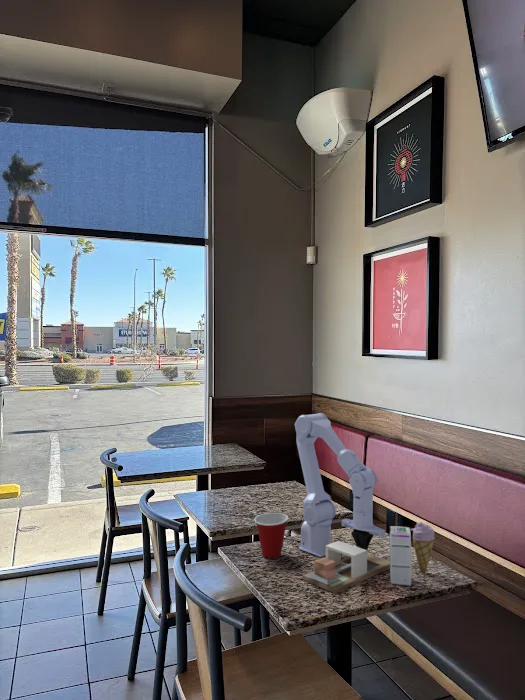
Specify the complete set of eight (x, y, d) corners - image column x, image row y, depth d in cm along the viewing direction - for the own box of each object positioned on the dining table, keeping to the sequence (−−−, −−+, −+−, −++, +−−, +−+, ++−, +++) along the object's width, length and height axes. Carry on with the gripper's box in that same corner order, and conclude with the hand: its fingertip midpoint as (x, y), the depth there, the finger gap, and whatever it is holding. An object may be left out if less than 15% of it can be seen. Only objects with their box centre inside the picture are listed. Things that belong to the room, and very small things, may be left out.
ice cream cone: (406, 571, 157) (406, 520, 157) (416, 565, 162) (416, 516, 162) (427, 578, 153) (428, 525, 153) (437, 572, 157) (437, 520, 157)
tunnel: (325, 567, 157) (325, 545, 157) (338, 562, 161) (338, 540, 161) (354, 578, 149) (354, 555, 149) (366, 572, 154) (367, 550, 154)
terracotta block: (314, 575, 149) (314, 561, 149) (323, 571, 152) (323, 557, 152) (325, 580, 146) (325, 565, 146) (334, 575, 149) (335, 561, 149)
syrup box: (411, 585, 148) (412, 533, 148) (389, 583, 149) (390, 531, 149) (410, 577, 154) (410, 526, 154) (389, 575, 155) (389, 525, 155)
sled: (308, 576, 149) (308, 557, 149) (349, 559, 162) (349, 541, 162) (327, 584, 144) (327, 564, 144) (367, 566, 157) (368, 548, 157)
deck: (302, 579, 151) (302, 574, 151) (360, 555, 170) (360, 551, 170) (335, 593, 143) (335, 588, 143) (392, 566, 161) (392, 562, 161)
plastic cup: (248, 551, 172) (248, 514, 172) (279, 546, 177) (279, 510, 177) (261, 563, 162) (262, 524, 162) (293, 558, 167) (294, 520, 167)
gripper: (391, 512, 158) (390, 558, 158) (351, 502, 169) (351, 545, 169) (377, 517, 153) (376, 565, 153) (337, 506, 164) (337, 551, 164)
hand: (362, 555), depth 161 cm, fingers closed, pressing on sled
